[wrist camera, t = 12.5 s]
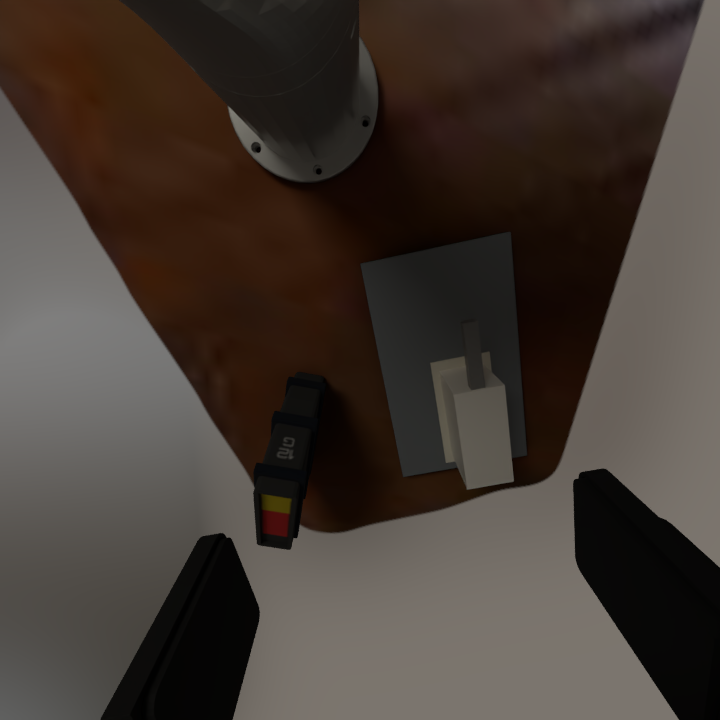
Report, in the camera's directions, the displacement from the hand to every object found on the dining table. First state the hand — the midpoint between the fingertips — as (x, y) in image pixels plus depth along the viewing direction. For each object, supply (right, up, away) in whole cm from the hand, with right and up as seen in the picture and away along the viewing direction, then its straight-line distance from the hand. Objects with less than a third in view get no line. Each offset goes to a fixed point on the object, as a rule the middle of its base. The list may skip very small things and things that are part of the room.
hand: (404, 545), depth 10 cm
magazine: (-8, -2, +31) cm, 32 cm away
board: (+8, +5, +28) cm, 30 cm away
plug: (+9, +2, +27) cm, 29 cm away
